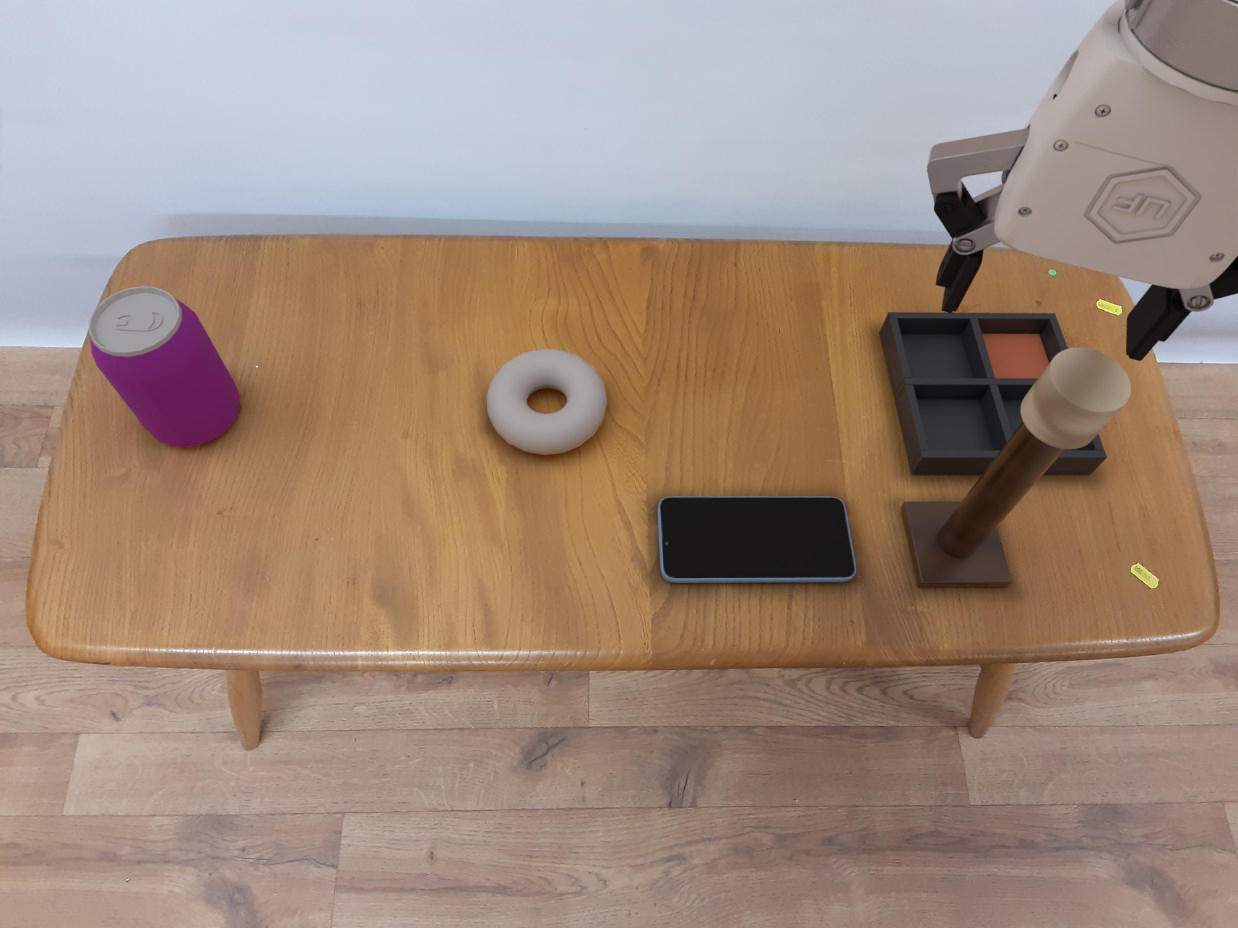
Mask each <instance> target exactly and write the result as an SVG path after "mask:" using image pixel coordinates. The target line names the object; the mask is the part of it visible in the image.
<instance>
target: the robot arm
mask: <svg viewBox="0 0 1238 928" xmlns="http://www.w3.org/2000/svg"><path fill="white" fill-rule="evenodd" d="M927 159H928V160H927V165H926V173H927V177H928V178H927V179H928V182H929V183H928V184H929V188H930V192H931V195H932V198H933V211H934V213H935V215H936V216H937V218H938V220H939V221H940V223H941V224H942V226H943V227H944V229H945V230H946V232H947V233H948V235H949V237H950V238H951V241H950V243H949V246H948V247H947V250H946V251H945V254H944V256H943V258H942V260H941V262H940V265H939V267H938V270H937V274H936V279H935V286H937V287H941V288H944V290H943V291H944V292H943V297H942V302H941V303H942V304H941V308H940V309H941V312H943V313H957V311H958V309H959V307H960V306H961V304H962V302H963V300H964V297H965V296H966V295H967V292H968V290H969V289H970V286H971V285H972V283H973V281H974V279H975V277H976V276H977V274H978V272H979V270H980V268H981V266H982V263H983V258H984V251H985V249H987V248H989V247H992V246H994V245H996V244H999V243H1002V244H1003V245H1005V246H1006V247H1008V248H1010V249H1012V250H1014V251H1016V252H1019V253H1022V254H1026V255H1029V256H1034V257H1037V258H1041V259H1044V260H1049V261H1053V262H1057V263H1060V264H1061V263H1062V264H1065V265H1070V266H1073V267H1078V268H1081V269H1086V270H1089V271H1094V272H1098V273H1103V274H1107V275H1110V276H1114V277H1118V278H1123V279H1126V280H1132V281H1135V282H1140V283H1144V284H1148V285H1150V286H1149V287H1148V289H1147V290H1146V291H1145V292H1144V293H1143V295H1142V296H1141V297H1140V299H1139V300H1138V301H1137V302H1136V304H1135V305H1134V306H1133V308H1132V309H1131V310H1130V312H1128V314H1127V317H1126V328H1125V329H1126V330H1125V331H1126V332H1125V333H1126V334H1125V335H1126V336H1125V355H1126V356H1128V358H1129V360H1134V361H1138V362H1141V361H1143V360H1144V359H1145V358H1146V357H1147V355H1148V354H1149V353H1150V351H1152V349H1154V347H1155V346H1156V345H1157V344H1158V342H1162V343H1164V342H1166V341H1167V340H1168V339H1169V338H1170V337H1171V336H1172V335H1173V333H1174V332H1175V331H1176V330H1177V329H1178V328H1179V326H1180V325H1181V324H1182V323H1183V322H1184V321H1185V320H1186V318H1188V317H1189V315H1190V314H1191V313H1192V312H1194V313H1198V312H1200V313H1201V312H1204V311H1207V310H1209V309H1210V308H1211V307H1213V305H1214V303H1215V300H1218V299H1222V298H1227V297H1230V296H1233V295H1238V0H1115V1H1114V2H1113V3H1112V4H1110V6H1108V7H1107V9H1106V10H1105V11H1104V12H1103V14H1102V15H1101V16H1100V17H1099V18H1098V19H1097V20H1096V22H1095V23H1094V25H1093V26H1092V27H1091V29H1090V30H1089V31H1088V32H1087V34H1086V35H1085V36H1084V37H1083V38H1082V40H1081V41H1080V43H1079V44H1078V45H1077V47H1076V48H1075V50H1074V51H1073V53H1072V54H1071V55H1070V56H1069V58H1068V59H1067V61H1066V62H1065V64H1063V67H1062V68H1061V69H1060V71H1058V73H1057V75H1056V76H1055V78H1054V80H1053V81H1052V83H1051V84H1050V86H1049V87H1048V88H1047V90H1046V92H1045V93H1044V95H1043V97H1042V99H1041V100H1040V101H1039V103H1038V105H1037V106H1036V108H1035V109H1034V111H1033V113H1032V114H1031V116H1030V118H1029V119H1028V121H1027V122H1026V124H1025V126H1024V128H1020V129H1014V130H1009V131H1005V132H1004V131H1003V132H998V133H994V134H993V133H992V134H986V135H980V136H974V137H969V138H963V139H957V140H951V141H946V142H939V143H936V144H934V145H933V146H932V147H931V148H930V150H929V155H928V158H927ZM997 172H1002V173H1001V176H1000V177H1001V179H1000V181H1001V184H999V185H997V186H995V187H993V188H991V189H988V190H986V191H985V192H982V193H980V194H977V195H976V196H974V197H973V196H972V195H971V193H970V192H969V190H968V188H967V187H966V185H965V184H964V182H963V180H962V179H963V178H965V177H971V176H978V175H983V174H984V175H985V174H992V173H997Z"/></svg>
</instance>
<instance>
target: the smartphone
mask: <svg viewBox="0 0 1238 928" xmlns="http://www.w3.org/2000/svg"><path fill="white" fill-rule="evenodd" d="M657 529H658V549H659V551H658V552H659V568H660V573H661V576H662V578H663V579H664V580H665V581H667V582H669V583H672V584H673V583H674V584H708V583H709V584H735V583H737V584H739V583H742V584H743V583H745V584H746V583H747V584H749V583H751V584H752V583H755V584H756V583H766V584H767V583H847V582H850V581H851V580H853V578H854V577H855V576H856V574H857V563H856V557H855V552H854V546H853V541H852V535H851V529H850V523H849V518H848V512H847V508H846V504H845V503H844V501H843V500H842V499H841V498H839V497H837V496H831V495H815V496H814V495H791V496H790V495H786V496H785V495H772V496H771V495H759V496H758V495H755V496H754V495H672V496H671V495H670V496H665V497H663V498H661V499H660V500H659V502H658V504H657Z"/></svg>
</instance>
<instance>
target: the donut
mask: <svg viewBox="0 0 1238 928" xmlns="http://www.w3.org/2000/svg"><path fill="white" fill-rule="evenodd" d="M545 389H550V390H551V389H552V390H556V391H558V392H561V393H562V394H563V395H564V396H565V399H566V403H565V405H564V406H563V407H562V408H561V409H559V410H557V411H554V412H550V413H542V412H538V411H536V410H533V409H532V408H531V407H530V406H529V404H528V400H529V397H530V396H531V395H532V394H534V393H535V392H537V391H540V390H545ZM485 401H486V411H487V417H488V418H489V420H490V422H491V424H492V426H493V428H494V430H495V432H496V433H497V434H498V435H499V436H500V437H501V438H502V439H503V440H504V441H505V442H506V443H507V444H509V445H511V446H513V447H515V448H517V449H519V450H521V451H523V452H525V453H529V454H534V455H535V454H536V455H541V456H549V455H558V454H559V455H560V454H564V453H566V452H569V451H572V450H575V449H576V448H579V447H580V446H582V445H583V444H584V443H586V442H587V441H588V440H589V439H592V437H593V436H594V435H595V434H596V432H597V431H598V430H599V428H600V427H601V425H602V424H603V422H604V420H605V416H606V411H607V407H608V398H607V391H606V386H605V383H604V381H603V379H602V378H601V375H599V373H598V371H597V370H596V369H595V368H594V367H593V366H592V365H591V364H590V363H588V362H587V361H586V360H585V359H583V358H582V357H580V356H578V355H576V354H573V353H572V352H569V351H567V350H561V349H555V348H543V349H542V348H541V349H532V350H528V351H526V352H524V353H521V354H517V355H516V356H514V357H513V358H511V359H510V360H509V361H507V362H505V363H504V364H503V365H502V366H501V367H500V368H499V370H497V372H496V373H495V375H494V376H493V378H492V379H491V380H490V384H489V387H488V389H487V394H486V400H485Z"/></svg>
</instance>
